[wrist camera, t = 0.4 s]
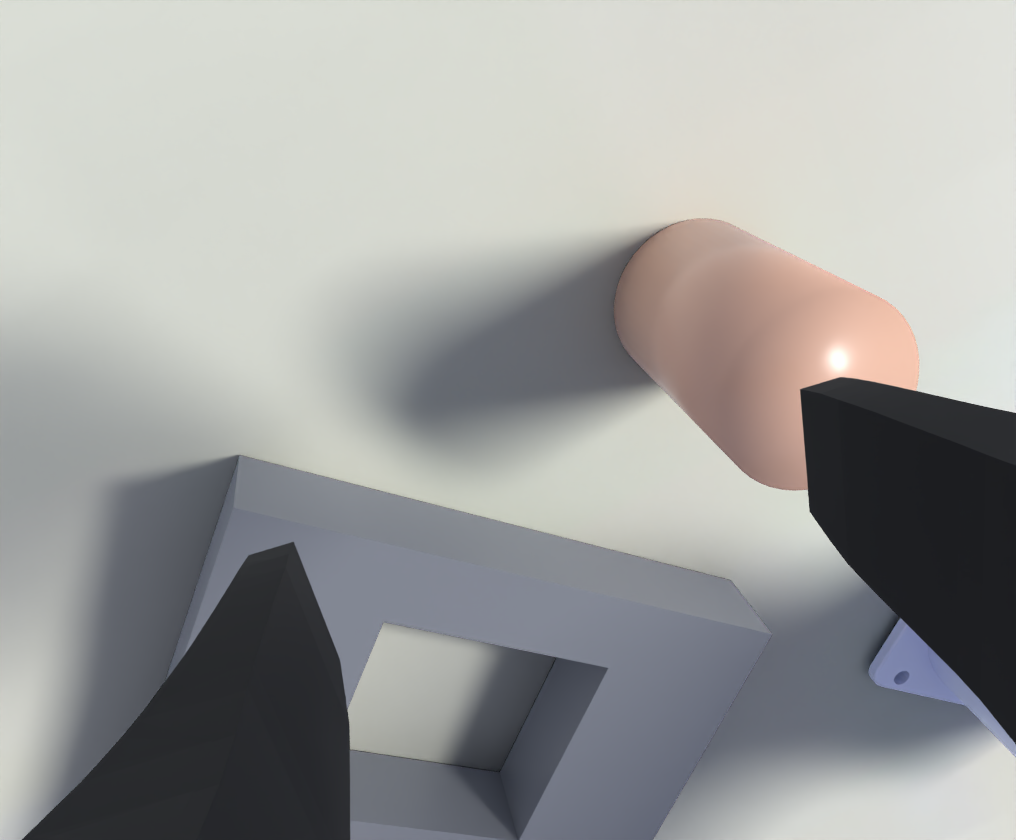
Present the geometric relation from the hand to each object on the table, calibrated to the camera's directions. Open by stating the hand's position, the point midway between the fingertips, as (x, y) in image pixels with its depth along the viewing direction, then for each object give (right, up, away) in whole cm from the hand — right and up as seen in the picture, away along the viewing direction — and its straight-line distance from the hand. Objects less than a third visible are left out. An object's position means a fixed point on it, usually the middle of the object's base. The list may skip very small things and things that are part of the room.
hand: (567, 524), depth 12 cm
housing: (-4, -10, +14) cm, 18 cm away
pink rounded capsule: (+4, +4, +10) cm, 11 cm away
